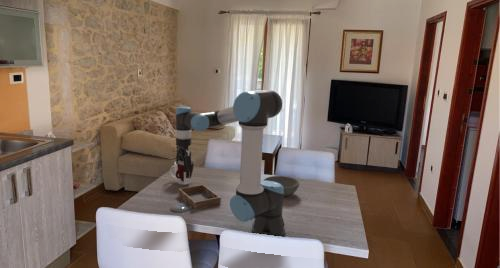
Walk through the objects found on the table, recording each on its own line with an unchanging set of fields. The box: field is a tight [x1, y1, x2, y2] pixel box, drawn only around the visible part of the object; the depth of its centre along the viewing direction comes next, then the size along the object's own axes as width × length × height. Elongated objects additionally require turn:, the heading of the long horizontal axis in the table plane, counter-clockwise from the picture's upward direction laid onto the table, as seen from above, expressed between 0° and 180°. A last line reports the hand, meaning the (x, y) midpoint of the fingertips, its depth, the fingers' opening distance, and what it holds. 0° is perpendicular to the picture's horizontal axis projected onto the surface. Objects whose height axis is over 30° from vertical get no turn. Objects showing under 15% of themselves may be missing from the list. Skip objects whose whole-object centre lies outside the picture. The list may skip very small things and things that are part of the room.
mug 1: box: [169, 161, 194, 186], centre depth 220 cm, size 15×11×13 cm
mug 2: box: [176, 160, 195, 182], centre depth 182 cm, size 11×8×10 cm
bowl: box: [262, 175, 300, 197], centre depth 208 cm, size 21×21×8 cm
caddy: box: [178, 184, 222, 210], centre depth 196 cm, size 22×15×4 cm
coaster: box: [170, 202, 191, 213], centre depth 185 cm, size 10×10×1 cm
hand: (183, 180), depth 184 cm, fingers closed on mug 2, 8 cm apart
